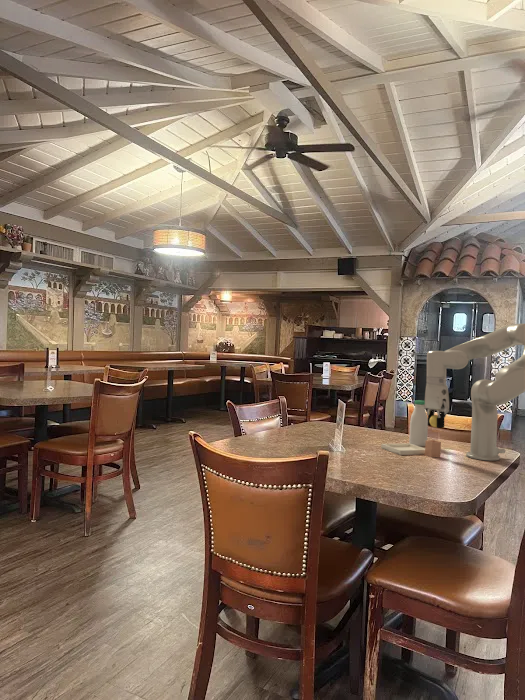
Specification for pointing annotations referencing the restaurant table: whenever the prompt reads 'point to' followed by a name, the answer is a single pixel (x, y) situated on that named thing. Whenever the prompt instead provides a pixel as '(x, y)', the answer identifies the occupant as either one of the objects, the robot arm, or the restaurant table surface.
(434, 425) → the ball
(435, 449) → the brown rectangular block
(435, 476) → the restaurant table surface
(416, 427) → the milk bottle
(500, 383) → the robot arm
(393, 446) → the tray
